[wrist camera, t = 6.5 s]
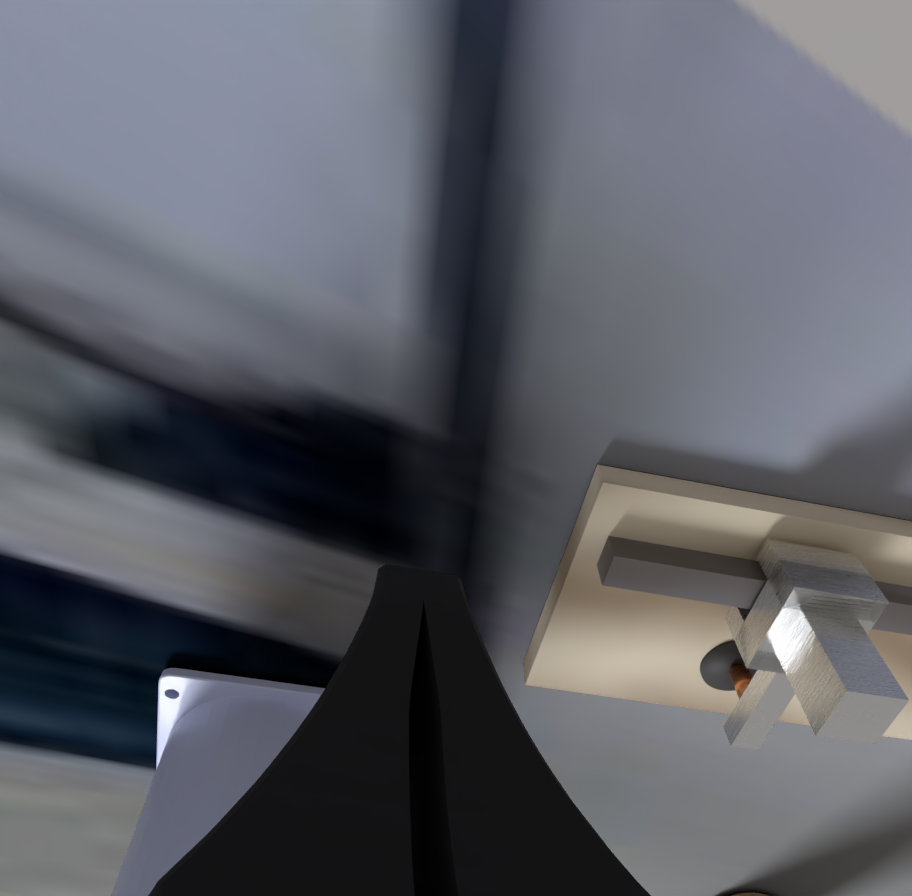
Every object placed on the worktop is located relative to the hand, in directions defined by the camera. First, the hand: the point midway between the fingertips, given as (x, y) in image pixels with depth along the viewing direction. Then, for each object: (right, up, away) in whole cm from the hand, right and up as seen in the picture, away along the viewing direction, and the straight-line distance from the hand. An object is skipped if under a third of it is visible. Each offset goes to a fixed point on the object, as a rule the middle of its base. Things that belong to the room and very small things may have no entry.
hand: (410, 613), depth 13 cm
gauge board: (+14, -3, +14) cm, 20 cm away
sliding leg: (+11, -3, +13) cm, 17 cm away
